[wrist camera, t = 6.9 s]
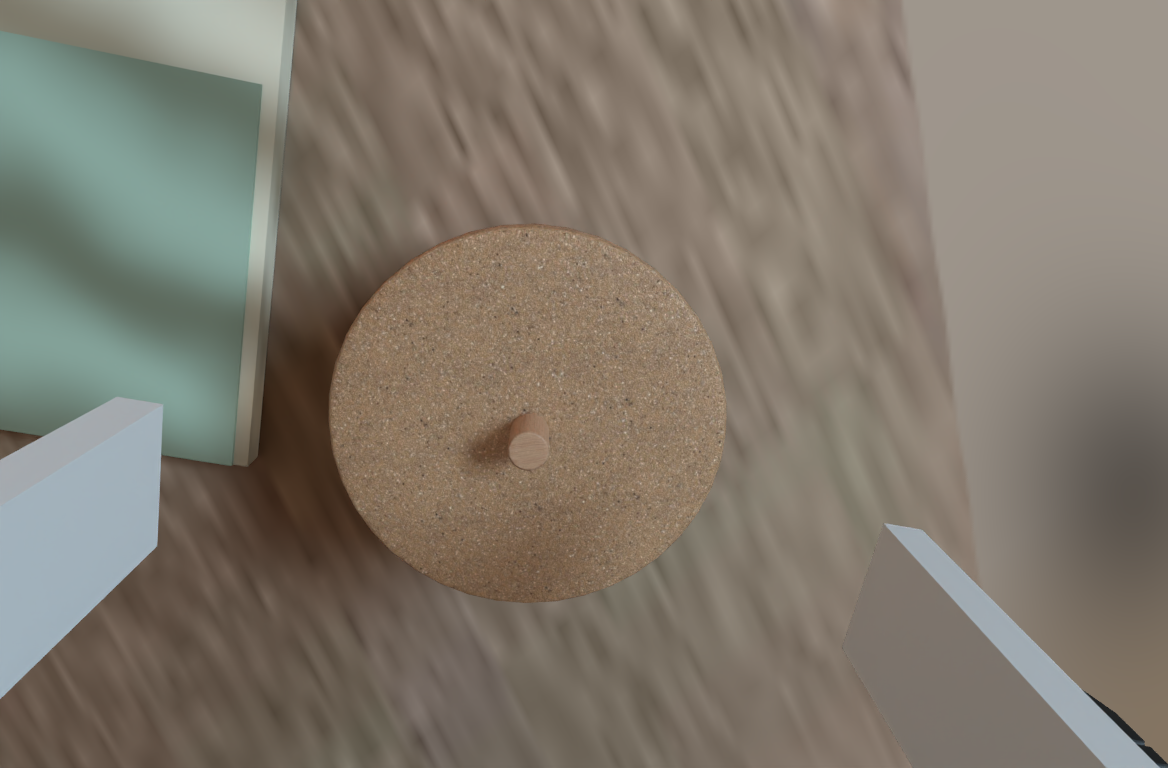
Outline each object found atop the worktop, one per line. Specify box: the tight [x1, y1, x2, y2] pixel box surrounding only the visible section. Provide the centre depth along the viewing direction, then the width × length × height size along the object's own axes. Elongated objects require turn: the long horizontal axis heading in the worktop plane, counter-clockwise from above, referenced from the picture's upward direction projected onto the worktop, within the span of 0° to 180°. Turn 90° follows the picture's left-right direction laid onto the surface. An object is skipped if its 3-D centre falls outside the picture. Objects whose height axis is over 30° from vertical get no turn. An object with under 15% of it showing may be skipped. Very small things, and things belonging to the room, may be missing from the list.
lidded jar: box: [328, 224, 727, 603], centre depth 23 cm, size 11×11×9 cm
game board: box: [0, 0, 297, 467], centre depth 23 cm, size 25×13×4 cm, turn 169°
